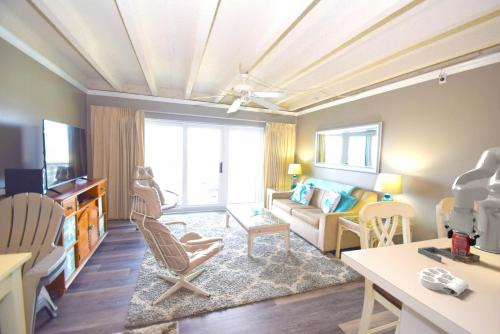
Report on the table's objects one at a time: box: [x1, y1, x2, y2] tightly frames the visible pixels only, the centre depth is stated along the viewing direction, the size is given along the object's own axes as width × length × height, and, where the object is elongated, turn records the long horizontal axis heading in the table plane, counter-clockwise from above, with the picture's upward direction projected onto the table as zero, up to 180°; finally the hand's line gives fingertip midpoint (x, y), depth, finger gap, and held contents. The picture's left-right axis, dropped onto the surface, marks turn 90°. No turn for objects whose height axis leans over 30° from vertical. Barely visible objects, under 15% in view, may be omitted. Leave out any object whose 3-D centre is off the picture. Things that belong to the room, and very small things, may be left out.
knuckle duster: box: [415, 267, 470, 297], centre depth 90 cm, size 3×18×15 cm
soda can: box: [450, 231, 471, 257], centre depth 114 cm, size 7×7×12 cm
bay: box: [417, 246, 456, 263], centre depth 114 cm, size 11×11×2 cm
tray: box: [439, 246, 481, 264], centre depth 115 cm, size 11×11×2 cm
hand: (460, 241), depth 114 cm, fingers open, 9 cm apart
